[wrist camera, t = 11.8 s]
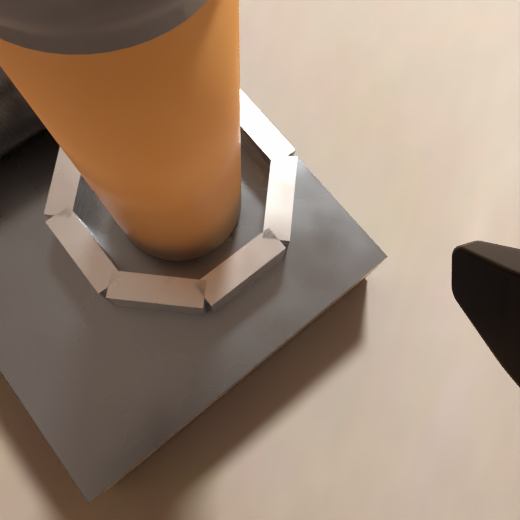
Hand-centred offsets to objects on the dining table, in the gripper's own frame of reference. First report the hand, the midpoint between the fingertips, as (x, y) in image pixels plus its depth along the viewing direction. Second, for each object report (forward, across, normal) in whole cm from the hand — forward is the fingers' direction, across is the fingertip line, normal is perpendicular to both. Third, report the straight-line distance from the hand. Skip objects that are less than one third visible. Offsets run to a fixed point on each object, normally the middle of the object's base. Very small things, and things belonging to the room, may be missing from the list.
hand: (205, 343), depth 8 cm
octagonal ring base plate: (+15, +2, +4) cm, 15 cm away
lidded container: (+12, 0, +2) cm, 12 cm away
